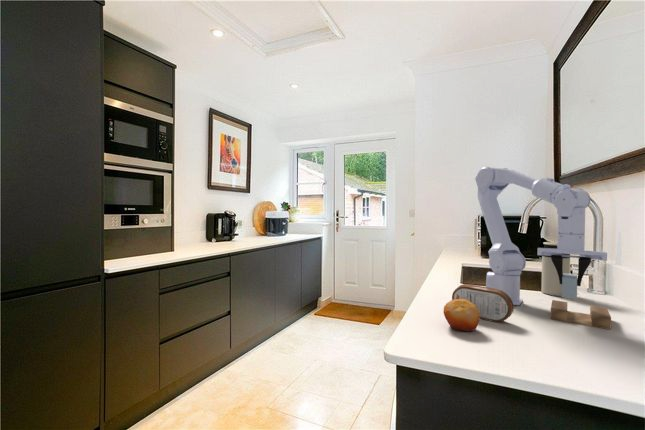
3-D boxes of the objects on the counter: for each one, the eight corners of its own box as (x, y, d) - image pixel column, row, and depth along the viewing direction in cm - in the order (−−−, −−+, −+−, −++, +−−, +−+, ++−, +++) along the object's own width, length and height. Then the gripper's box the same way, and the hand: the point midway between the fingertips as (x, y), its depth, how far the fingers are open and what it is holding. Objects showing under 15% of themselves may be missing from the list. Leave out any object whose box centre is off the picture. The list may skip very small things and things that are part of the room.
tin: (513, 323, 82) (514, 290, 82) (510, 326, 79) (511, 293, 79) (454, 310, 92) (454, 281, 92) (450, 312, 90) (450, 283, 90)
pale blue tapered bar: (561, 297, 82) (562, 277, 82) (563, 291, 89) (563, 273, 89) (576, 299, 80) (577, 279, 80) (576, 292, 87) (577, 274, 87)
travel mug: (560, 297, 107) (561, 244, 106) (536, 292, 114) (537, 242, 114) (574, 295, 110) (575, 243, 110) (550, 290, 117) (551, 241, 117)
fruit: (475, 317, 82) (478, 294, 78) (479, 342, 75) (482, 319, 71) (442, 313, 84) (443, 291, 80) (443, 338, 78) (444, 315, 74)
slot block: (550, 318, 85) (550, 307, 85) (552, 310, 93) (552, 299, 93) (610, 329, 78) (611, 317, 78) (606, 318, 86) (607, 307, 86)
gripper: (536, 233, 86) (535, 282, 86) (608, 236, 77) (607, 291, 77) (539, 231, 91) (538, 278, 92) (606, 234, 82) (605, 286, 82)
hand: (569, 284), depth 85 cm, fingers closed on pale blue tapered bar, 3 cm apart
